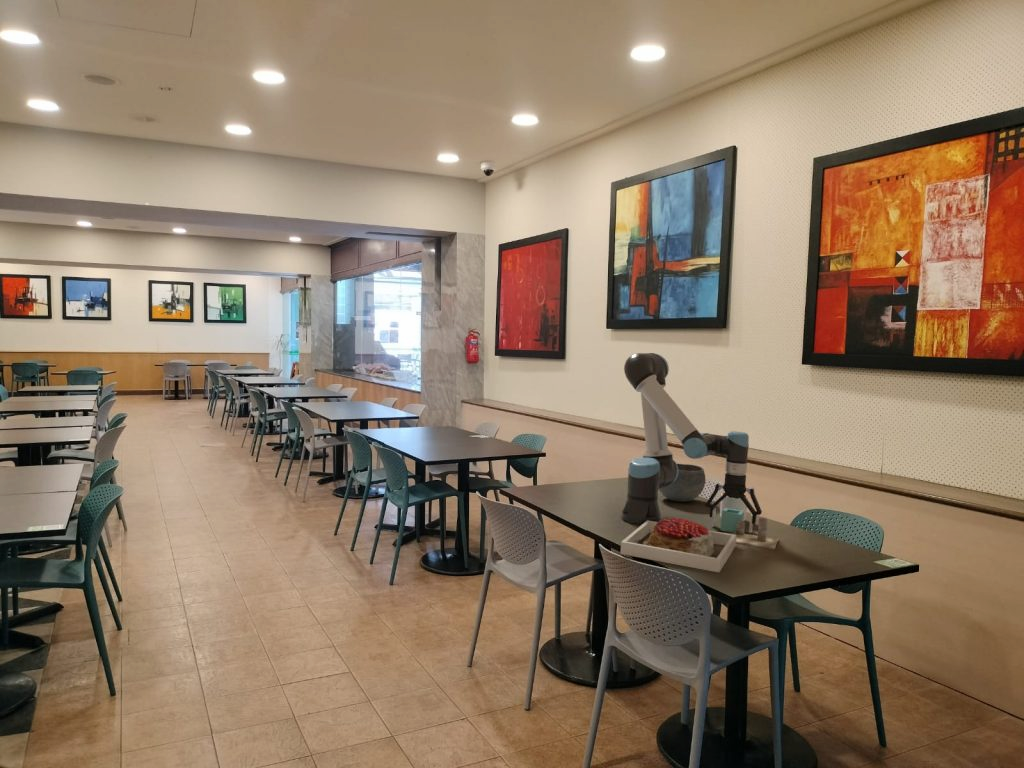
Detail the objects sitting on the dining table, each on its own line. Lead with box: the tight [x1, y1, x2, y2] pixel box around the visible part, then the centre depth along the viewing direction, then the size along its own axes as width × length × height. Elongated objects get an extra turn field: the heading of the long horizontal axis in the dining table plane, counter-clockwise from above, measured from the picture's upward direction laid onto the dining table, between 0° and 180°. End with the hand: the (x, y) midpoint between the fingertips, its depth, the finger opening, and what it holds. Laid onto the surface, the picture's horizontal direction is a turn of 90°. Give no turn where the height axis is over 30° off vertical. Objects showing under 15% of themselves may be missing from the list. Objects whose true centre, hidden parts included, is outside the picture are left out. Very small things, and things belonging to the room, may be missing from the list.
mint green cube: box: [720, 508, 744, 533], centre depth 265 cm, size 7×7×7 cm
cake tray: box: [620, 520, 737, 573], centre depth 237 cm, size 31×31×4 cm
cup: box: [719, 492, 749, 522], centre depth 279 cm, size 10×10×10 cm
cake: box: [638, 517, 715, 557], centre depth 236 cm, size 23×24×10 cm
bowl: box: [658, 463, 706, 503], centre depth 308 cm, size 21×21×15 cm
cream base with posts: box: [730, 517, 779, 550], centre depth 251 cm, size 16×12×9 cm
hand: (731, 529), depth 265 cm, fingers open, 13 cm apart
